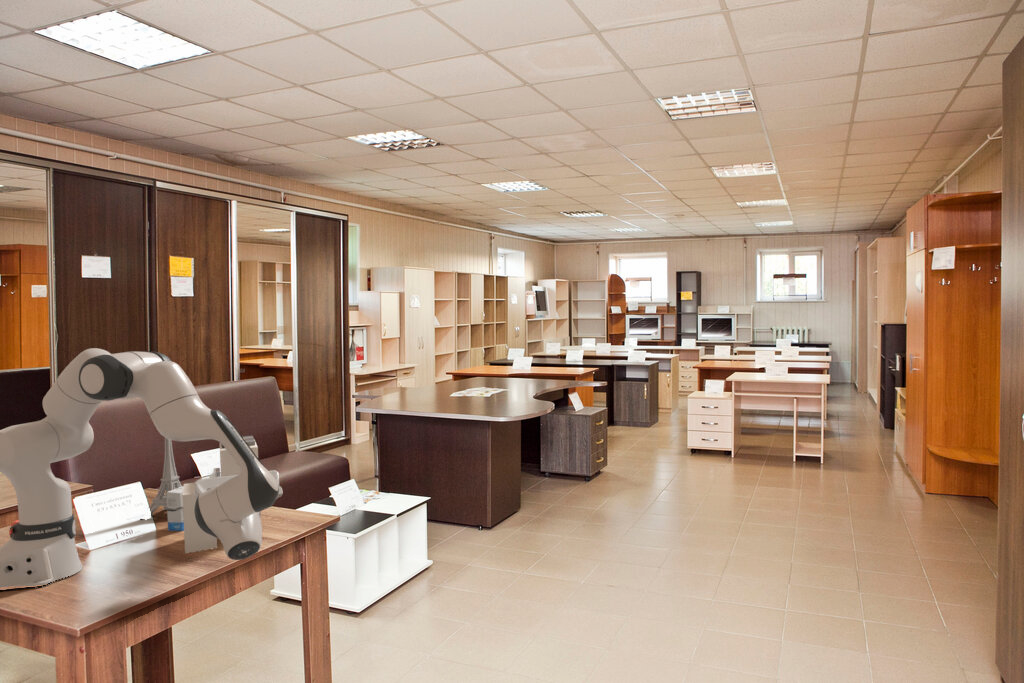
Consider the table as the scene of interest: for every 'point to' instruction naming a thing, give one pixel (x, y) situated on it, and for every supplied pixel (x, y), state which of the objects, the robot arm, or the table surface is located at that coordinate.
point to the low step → (194, 524)
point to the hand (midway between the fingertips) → (236, 467)
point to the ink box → (175, 509)
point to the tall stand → (232, 463)
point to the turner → (247, 440)
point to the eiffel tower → (166, 479)
